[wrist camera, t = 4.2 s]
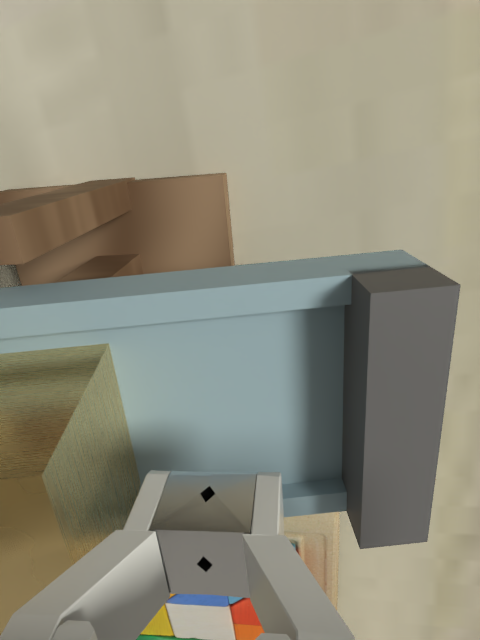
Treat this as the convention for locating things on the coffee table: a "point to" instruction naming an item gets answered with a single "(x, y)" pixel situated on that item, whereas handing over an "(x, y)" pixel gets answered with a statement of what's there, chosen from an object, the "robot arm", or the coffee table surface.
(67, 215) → the pivot stand
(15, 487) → the block
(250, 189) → the coffee table surface
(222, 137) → the coffee table surface
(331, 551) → the wooden puzzle
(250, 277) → the beam
